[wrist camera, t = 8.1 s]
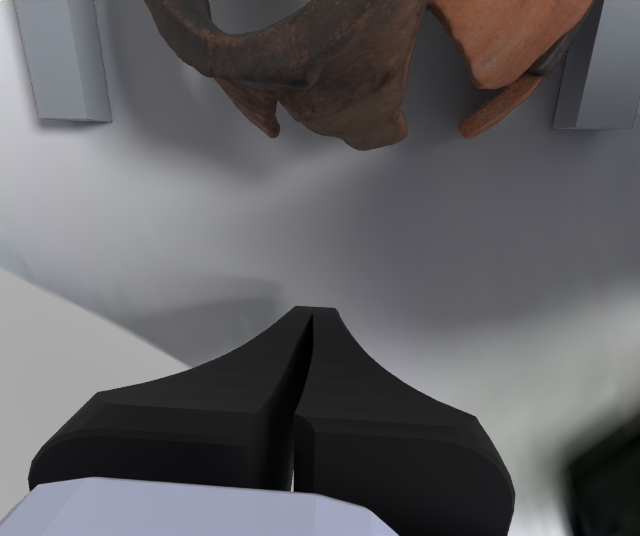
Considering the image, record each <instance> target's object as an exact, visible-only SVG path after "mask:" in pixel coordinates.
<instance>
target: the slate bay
mask: <svg viewBox="0 0 640 536" xmlns="http://www.w3.org/2000/svg"><path fill="white" fill-rule="evenodd" d="M14 3H15V7H16V12H17V17H18V21H19V26H20V31H21V36H22V40H23V45H24V50H25V54H26V59H27V64H28V69H29V73H30V78H31V83H32V87H33V92H34V97H35V102H36V106H37V111H38V116H39V118H43V119H53V120H63V121H99V122H112V118H111V111H110V105H109V98H108V92H107V85H106V79H105V72H104V66H103V59H102V53H101V46H100V40H99V33H98V26H97V20H96V13H95V7H94V0H14ZM639 101H640V0H595V2H594V5H593V6H592V8H591V10H590V12H589V13H588V15H587V17H586V19H585V21H584V22H583V24H582V25H581V26H580V29H579V32H578V34H577V36H576V38H575V40H574V41H573V43H572V45H571V46H570V48H569V49H568V53H567V58H566V63H565V68H564V72H563V77H562V82H561V87H560V92H559V96H558V101H557V106H556V111H555V116H554V120H553V125H552V129H590V130H605V129H619V128H632V127H633V123H634V119H635V116H636V112H637V108H638V105H639Z"/></svg>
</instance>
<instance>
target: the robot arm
mask: <svg viewBox="0 0 640 536" xmlns="http://www.w3.org/2000/svg"><path fill="white" fill-rule="evenodd" d="M293 470H294V492H291V485H292V477H293ZM28 481H29V488H30V493H29V494H28V495H26V496H25V497H24V498H23V499H22V500H21V501H20V502H19V503H18V504H17V505H16V506H14V507H13V508H12V509H11V510H10V511H9V512H8V514H7V515H6V516H5V517H4V518H3V519H2V520H1V521H0V536H507V535H508V531H509V527H510V524H511V520H512V516H513V513H514V503H515V491H514V487H513V484H512V480H511V477H510V474H509V472H508V470H507V468H506V466H505V465H504V463H503V461H502V459H501V457H500V455H499V453H498V451H497V450H496V448H495V446H494V444H493V443H492V441H491V439H490V438H489V436H488V435H487V433H486V432H485V430H484V429H483V427H482V426H481V424H480V423H479V421H478V419H477V418H476V416H473V415H471V414H468V413H466V412H464V411H461V410H459V409H456V408H454V407H451V406H449V405H447V404H444V403H442V402H439V401H437V400H435V399H433V398H431V397H429V396H427V395H425V394H424V393H422V392H420V391H418V390H416V389H414V388H413V387H411V386H409V385H407V384H406V383H404V382H403V381H401V380H400V379H398V378H397V377H395V376H394V375H392V374H391V373H389V372H388V371H387V370H385V369H384V368H383V367H382V366H380V365H379V364H378V363H377V362H376V361H375V360H374V359H372V358H371V357H370V356H369V355H368V354H367V353H366V352H365V351H364V350H363V348H362V347H361V346H360V345H359V344H358V343H357V341H356V340H355V339H354V337H353V336H352V335H351V333H350V332H349V330H348V329H347V327H346V326H345V324H344V323H343V321H342V319H341V317H340V315H339V313H338V311H337V310H336V309H335V308H326V307H307V306H295V307H294V308H292V309H291V310H290V311H289V312H288V313H286V314H285V315H284V316H283V317H282V318H281V319H279V320H278V321H277V322H276V323H274V324H273V325H272V326H271V327H269V328H268V329H267V330H265V331H264V332H262V333H261V334H259V335H258V336H256V337H255V338H254V339H252V340H251V341H249V342H248V343H246V344H244V345H242V346H241V347H239V348H237V349H235V350H233V351H231V352H229V353H228V354H226V355H224V356H221V357H219V358H217V359H214V360H212V361H210V362H207V363H205V364H202V365H200V366H197V367H195V368H192V369H189V370H187V371H184V372H181V373H178V374H174V375H171V376H167V377H164V378H160V379H157V380H153V381H150V382H145V383H141V384H136V385H132V386H127V387H122V388H117V389H112V390H108V391H101V392H97V393H96V394H95V395H94V396H93V397H92V398H91V399H90V400H89V401H88V402H87V403H86V404H85V405H84V406H83V407H82V408H81V409H80V410H79V411H78V412H77V413H76V414H75V415H74V416H73V417H71V419H70V420H68V421H67V423H66V424H64V425H63V426H62V427H61V428H60V429H59V430H58V432H56V434H54V435H53V436H52V437H51V438H50V439H49V440H48V441H47V442H46V443H45V444H44V445H43V446H42V448H41V449H40V450H39V452H38V453H37V455H36V456H35V457H34V459H33V460H32V463H31V467H30V472H29V476H28Z"/></svg>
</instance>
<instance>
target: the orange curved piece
mask: <svg viewBox="0 0 640 536" xmlns="http://www.w3.org/2000/svg"><path fill="white" fill-rule="evenodd" d="M144 2H145V3H146V5H147V6H148V8H149V10H150V12H151V14H152V16H153V19H154V21H155V23H156V26H157V28H158V30H159V32H160V34H161V36H162V37H163V38H164V39H165V41H166V42H167V44H168V45H169V46H170V47H171V48H172V49H173V50H174V51H175V53H176V55H177V56H178V57H180V58H181V59H182V60H183V61H184V62H185V63H187V64H188V65H190V66H192V67H194V68H195V69H196V70H197V71H199V72H200V73H201V74H202V75H204V76H206V77H210V78H214V79H215V80H216V81H217V83H218V84H219V85H220V86H221V87H222V89H223V90H224V91H225V92H226V93H227V95H228V96H229V97H230V98H231V100H232V101H233V102H234V104H235V105H236V106H237V107H238V108H239V109H240V110H241V111H242V113H243V114H244V115H245V116H246V117H247V118H248V119H249V120H250V121H251V122H252V123H253V124H255V125H256V126H257V127H258V128H260V129H261V130H262V131H263V132H264V133H266V134H267V135H268V136H269V137H271V138H276V137H277V136H278V135H279V132H280V125H279V124H278V122H277V120H276V117H275V113H276V105H277V100H278V101H279V102H280V103H281V104H282V105H283V106H284V107H285V109H286V110H287V111H288V113H289V114H290V115H291V116H292V117H293V118H294V119H295V120H296V121H298V122H300V123H302V124H303V125H305V126H306V127H307V128H308V129H310V130H311V131H313V132H315V133H318V134H321V135H325V136H332V137H337V138H340V139H342V140H343V141H345V142H346V143H347V144H348V145H350V146H351V147H352V148H355V149H357V150H362V151H366V150H371V149H375V148H380V147H384V146H389V145H393V144H396V143H398V142H400V141H402V140H403V139H404V138H405V137H406V136H407V134H408V126H407V123H406V120H405V118H404V116H403V114H402V112H401V110H400V109H399V106H400V104H401V102H402V100H403V97H404V93H405V90H406V85H407V75H408V66H409V62H410V59H411V55H412V51H413V48H414V45H415V42H416V39H417V35H418V31H419V26H420V24H421V21H422V18H423V15H424V13H425V11H426V10H429V11H430V12H431V13H432V14H433V15H434V16H435V17H436V18H437V19H438V21H439V22H440V24H441V25H442V27H443V28H444V30H445V31H446V33H447V34H448V36H449V37H450V38H451V39H452V40H453V42H454V44H455V45H456V47H457V49H458V50H459V52H460V54H461V56H462V58H463V60H464V61H465V63H466V67H467V70H468V74H469V78H470V80H471V81H472V83H473V84H474V86H475V87H476V88H477V89H484V88H486V89H497V88H500V87H505V86H507V87H506V88H505V89H504V90H503V91H502V92H500V93H499V94H498V95H497V96H495V97H494V98H493V99H491V100H490V101H489V102H487V103H486V104H485V105H483V106H482V107H480V108H479V109H478V110H476V111H474V112H473V113H472V114H470V115H469V116H467V117H466V118H464V119H463V120H462V121H461V122H460V124H459V130H460V133H461V134H462V136H463V137H464V138H471V137H474V136H476V135H478V134H480V133H482V132H483V131H485V130H487V129H489V128H491V127H492V126H494V125H495V124H497V123H498V122H499V121H501V120H502V119H503V118H504V117H505V116H506V115H507V114H508V113H509V112H510V111H512V110H513V109H514V108H515V107H517V106H518V105H519V104H520V103H522V102H523V101H524V100H525V99H526V98H528V97H529V96H530V95H531V93H532V92H533V91H534V90H535V89H536V87H537V86H538V85H539V83H540V82H541V81H542V80H543V79H544V78H546V77H547V76H548V75H549V74H550V73H551V71H552V70H553V69H554V67H555V66H556V64H557V63H558V62H559V61H560V60H561V58H562V57H563V55H564V54H565V53H566V52H567V50H568V49H569V48H570V46H571V45H572V43H573V41H574V40H575V38H576V36H577V34H578V32H579V29H580V26H581V25H582V24H583V22H584V21H585V19H586V17H587V15H588V13H589V12H590V10H591V8H592V6H593V5H594V2H595V0H311V1H310V2H309V3H307V4H306V5H305V6H304V7H302V8H301V9H300V10H298V11H297V12H295V13H294V14H292V15H290V16H288V17H286V18H285V19H283V20H281V21H279V22H277V23H275V24H273V25H271V26H269V27H267V28H265V29H263V30H260V31H256V32H252V33H246V34H233V35H229V34H227V33H223V32H222V31H221V30H219V29H218V28H217V27H216V26H215V25H214V24H213V23H212V19H211V13H210V6H209V1H208V0H144Z"/></svg>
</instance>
